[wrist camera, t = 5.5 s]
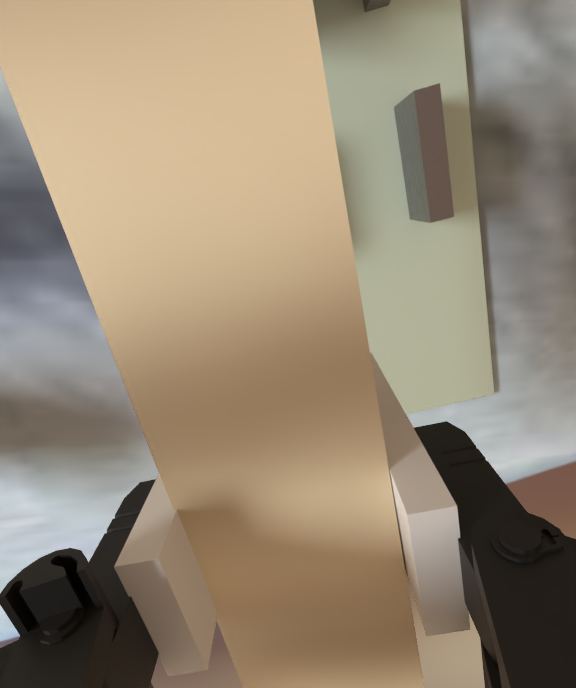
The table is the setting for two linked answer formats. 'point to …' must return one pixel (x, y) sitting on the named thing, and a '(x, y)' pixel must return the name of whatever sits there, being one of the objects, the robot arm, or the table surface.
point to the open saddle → (424, 155)
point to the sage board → (391, 201)
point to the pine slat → (230, 310)
